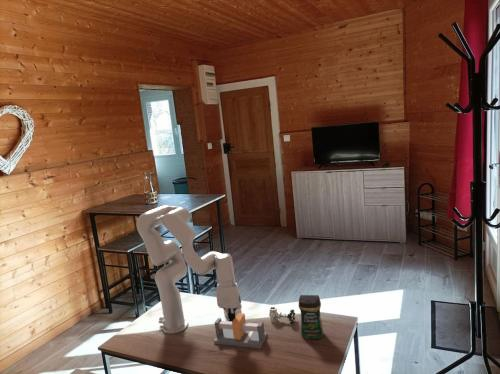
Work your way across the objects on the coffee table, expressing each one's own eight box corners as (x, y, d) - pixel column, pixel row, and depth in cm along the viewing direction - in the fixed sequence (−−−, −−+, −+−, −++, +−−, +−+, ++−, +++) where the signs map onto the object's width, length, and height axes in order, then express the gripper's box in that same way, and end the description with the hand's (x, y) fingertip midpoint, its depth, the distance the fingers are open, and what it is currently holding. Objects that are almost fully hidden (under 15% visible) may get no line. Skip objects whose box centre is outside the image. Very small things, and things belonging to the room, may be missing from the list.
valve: (267, 323, 180) (291, 327, 175) (266, 311, 179) (290, 313, 174) (272, 316, 186) (296, 319, 181) (271, 304, 185) (294, 306, 180)
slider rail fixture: (214, 343, 169) (211, 326, 168) (223, 331, 178) (220, 314, 177) (260, 348, 161) (258, 330, 160) (267, 335, 171) (265, 317, 169)
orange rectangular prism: (234, 339, 166) (231, 322, 165) (240, 329, 174) (238, 313, 172) (240, 339, 165) (238, 322, 164) (246, 329, 173) (244, 313, 171)
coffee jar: (300, 340, 164) (296, 300, 161) (302, 329, 171) (298, 291, 168) (323, 340, 161) (319, 300, 158) (324, 330, 169) (320, 291, 166)
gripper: (207, 284, 166) (213, 323, 169) (239, 286, 160) (244, 325, 163) (214, 277, 172) (220, 314, 175) (245, 278, 167) (250, 316, 170)
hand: (232, 319), depth 169 cm, fingers closed
